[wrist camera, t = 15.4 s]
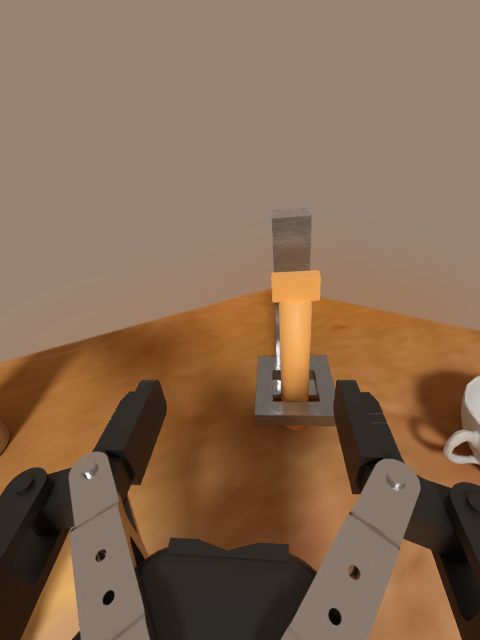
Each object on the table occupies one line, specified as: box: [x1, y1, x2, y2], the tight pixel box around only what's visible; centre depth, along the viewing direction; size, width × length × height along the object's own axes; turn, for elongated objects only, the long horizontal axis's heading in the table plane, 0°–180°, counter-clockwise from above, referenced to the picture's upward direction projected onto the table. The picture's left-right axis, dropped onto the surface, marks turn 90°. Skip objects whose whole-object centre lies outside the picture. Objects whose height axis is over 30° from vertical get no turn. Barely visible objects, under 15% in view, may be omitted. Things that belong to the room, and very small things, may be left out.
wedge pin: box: [272, 270, 321, 430], centre depth 32 cm, size 4×3×20 cm
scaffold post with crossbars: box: [255, 208, 336, 426], centre depth 39 cm, size 28×9×24 cm, turn 175°
